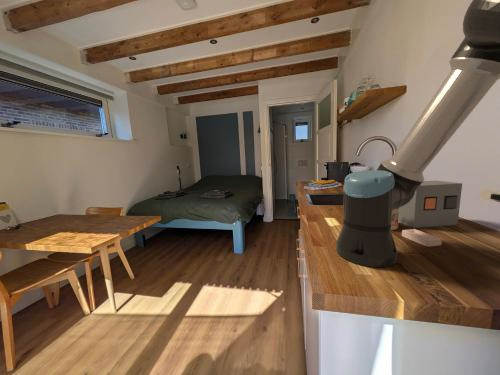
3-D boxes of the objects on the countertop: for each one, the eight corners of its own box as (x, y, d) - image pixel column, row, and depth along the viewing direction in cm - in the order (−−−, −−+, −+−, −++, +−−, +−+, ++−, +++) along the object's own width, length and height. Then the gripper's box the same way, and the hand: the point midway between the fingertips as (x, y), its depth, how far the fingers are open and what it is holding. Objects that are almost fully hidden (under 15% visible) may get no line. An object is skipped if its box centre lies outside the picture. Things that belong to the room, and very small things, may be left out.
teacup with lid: (393, 232, 71) (395, 200, 70) (366, 226, 78) (367, 197, 77) (404, 224, 79) (406, 195, 77) (378, 219, 86) (379, 193, 84)
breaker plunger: (424, 209, 74) (425, 198, 74) (402, 203, 84) (403, 193, 84) (434, 208, 75) (435, 198, 74) (411, 202, 85) (412, 193, 84)
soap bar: (426, 247, 60) (427, 240, 60) (400, 236, 69) (401, 229, 69) (442, 246, 61) (443, 238, 60) (414, 234, 70) (414, 228, 69)
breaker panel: (414, 228, 75) (417, 186, 72) (392, 219, 85) (395, 182, 83) (458, 225, 76) (463, 183, 74) (432, 217, 86) (435, 180, 84)
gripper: (604, 241, 36) (459, 206, 59) (666, 237, 37) (499, 205, 60) (616, 200, 34) (463, 181, 58) (680, 197, 35) (503, 180, 59)
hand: (481, 193), depth 59 cm, fingers closed
